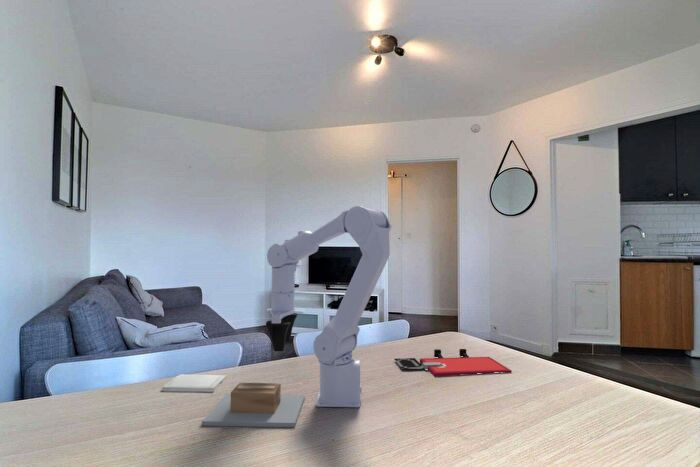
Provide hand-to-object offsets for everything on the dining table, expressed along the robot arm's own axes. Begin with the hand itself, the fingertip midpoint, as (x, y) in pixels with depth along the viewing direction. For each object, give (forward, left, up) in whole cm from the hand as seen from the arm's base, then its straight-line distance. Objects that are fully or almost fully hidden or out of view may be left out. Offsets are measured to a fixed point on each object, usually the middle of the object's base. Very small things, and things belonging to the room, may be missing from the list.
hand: (282, 346), depth 85 cm
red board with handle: (-46, -15, -10) cm, 49 cm away
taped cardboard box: (+2, +14, -9) cm, 17 cm away
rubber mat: (+2, +14, -9) cm, 17 cm away
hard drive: (+21, +1, -10) cm, 24 cm away
